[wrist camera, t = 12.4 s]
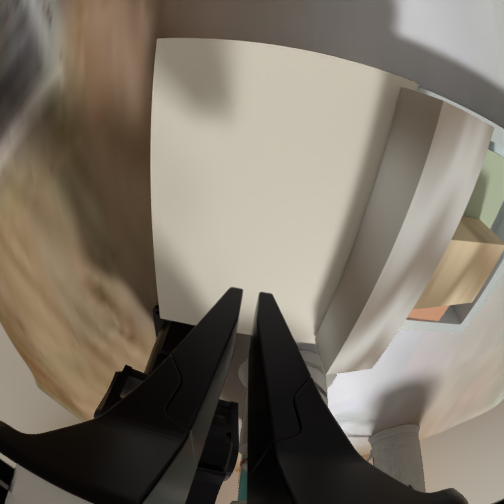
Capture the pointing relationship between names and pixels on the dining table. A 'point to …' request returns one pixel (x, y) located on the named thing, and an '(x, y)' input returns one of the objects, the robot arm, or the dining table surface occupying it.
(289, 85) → the cream riser block
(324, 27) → the dining table surface
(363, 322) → the scraper
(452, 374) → the dining table surface
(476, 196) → the sage tile
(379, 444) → the glass holder
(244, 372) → the french press
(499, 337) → the dining table surface
